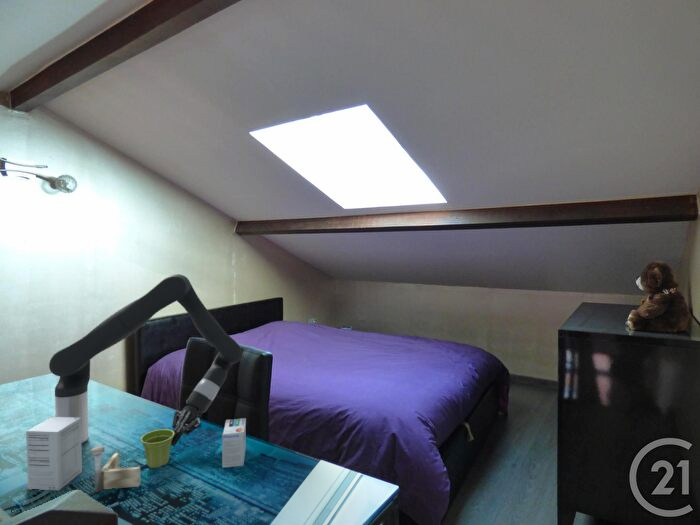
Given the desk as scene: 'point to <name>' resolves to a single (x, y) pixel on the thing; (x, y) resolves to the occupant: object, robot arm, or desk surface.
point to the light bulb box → (234, 443)
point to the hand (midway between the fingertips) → (170, 444)
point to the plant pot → (157, 447)
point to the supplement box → (54, 453)
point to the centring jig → (113, 472)
